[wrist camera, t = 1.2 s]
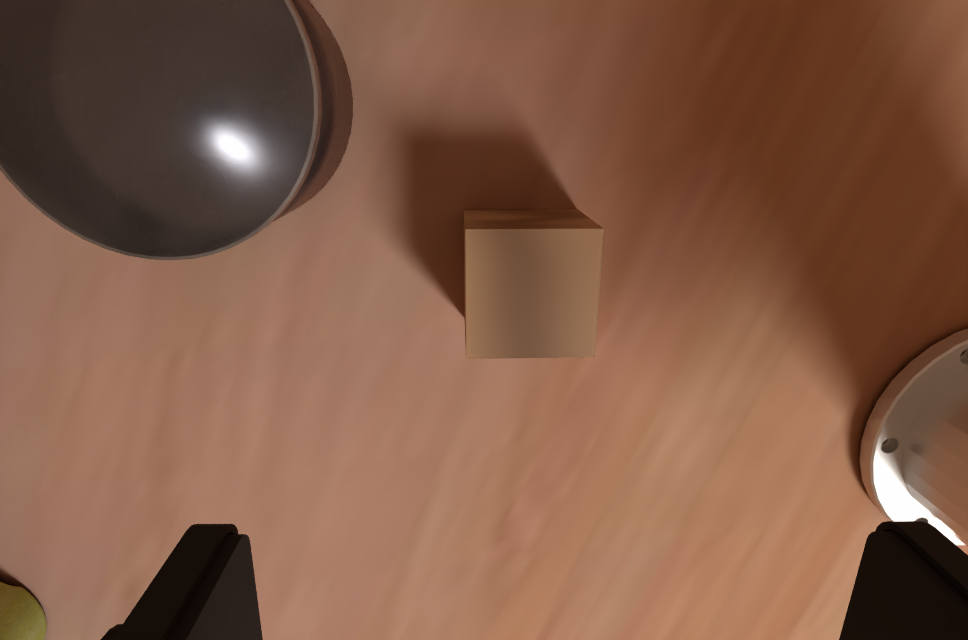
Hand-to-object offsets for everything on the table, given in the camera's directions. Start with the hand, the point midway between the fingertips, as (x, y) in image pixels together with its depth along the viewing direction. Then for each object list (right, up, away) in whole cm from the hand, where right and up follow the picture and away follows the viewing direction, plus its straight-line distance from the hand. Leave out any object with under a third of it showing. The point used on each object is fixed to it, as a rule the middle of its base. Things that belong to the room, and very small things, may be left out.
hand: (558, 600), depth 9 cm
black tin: (-12, +13, +15) cm, 23 cm away
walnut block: (0, +7, +18) cm, 19 cm away
